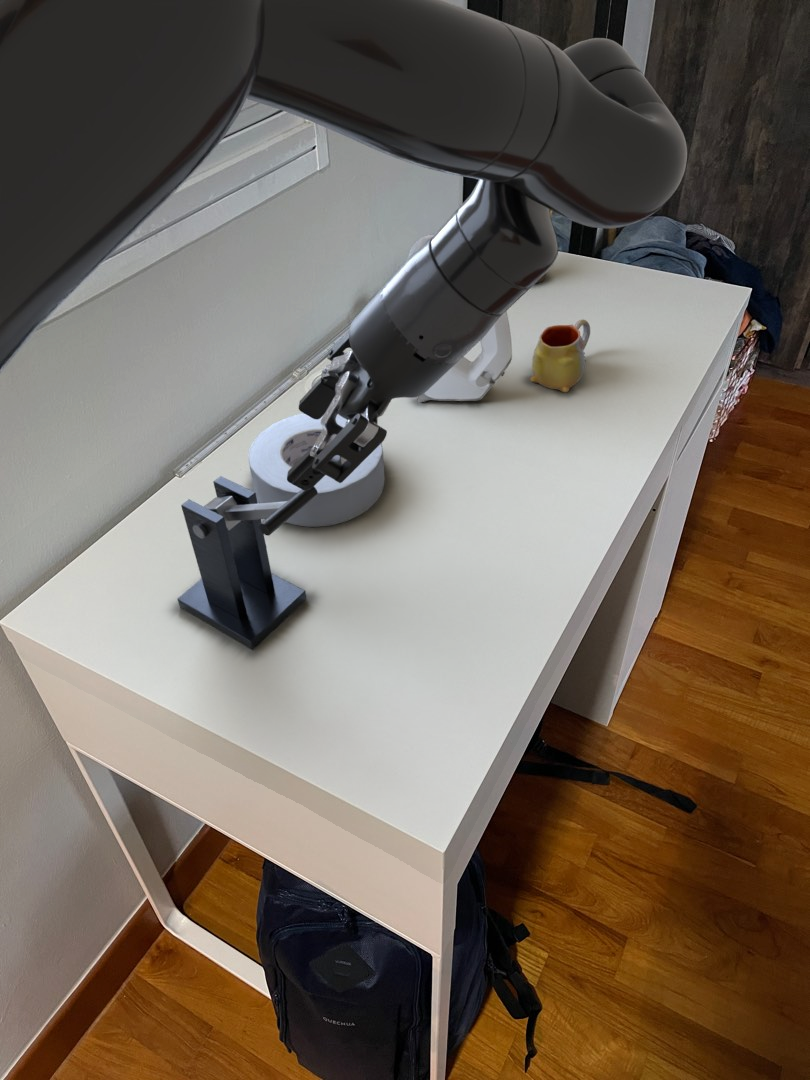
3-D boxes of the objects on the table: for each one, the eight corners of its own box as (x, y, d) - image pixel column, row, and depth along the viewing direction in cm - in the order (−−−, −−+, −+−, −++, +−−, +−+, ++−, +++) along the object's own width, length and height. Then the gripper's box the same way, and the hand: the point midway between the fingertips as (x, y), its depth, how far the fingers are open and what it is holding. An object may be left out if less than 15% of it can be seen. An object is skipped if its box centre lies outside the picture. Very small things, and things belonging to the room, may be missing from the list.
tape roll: (405, 503, 93) (404, 468, 90) (276, 542, 89) (270, 507, 86) (357, 433, 104) (354, 398, 100) (239, 464, 99) (232, 430, 96)
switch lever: (323, 501, 69) (310, 477, 68) (275, 542, 66) (261, 517, 65) (242, 507, 78) (230, 486, 77) (196, 543, 74) (183, 521, 73)
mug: (564, 398, 108) (570, 353, 104) (520, 381, 111) (524, 337, 107) (609, 360, 115) (616, 316, 110) (566, 345, 118) (571, 302, 114)
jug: (407, 402, 108) (401, 239, 94) (412, 381, 112) (407, 221, 98) (508, 407, 107) (518, 241, 92) (509, 385, 111) (520, 223, 96)
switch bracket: (307, 599, 83) (290, 494, 73) (252, 650, 78) (227, 545, 69) (235, 561, 87) (210, 457, 78) (179, 607, 82) (146, 503, 73)
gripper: (388, 235, 61) (274, 370, 71) (380, 352, 52) (250, 488, 62) (463, 291, 65) (344, 412, 75) (468, 410, 56) (332, 530, 65)
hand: (302, 446), depth 68 cm, fingers open, 8 cm apart
